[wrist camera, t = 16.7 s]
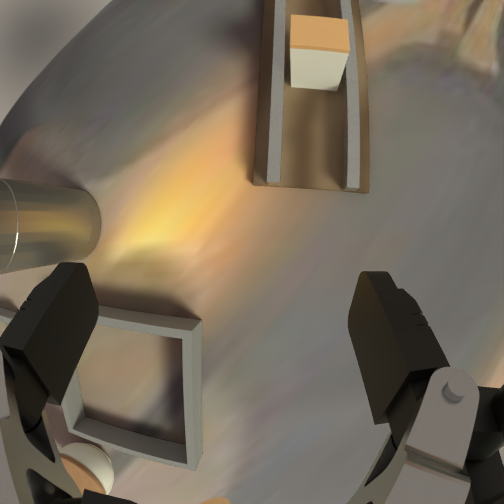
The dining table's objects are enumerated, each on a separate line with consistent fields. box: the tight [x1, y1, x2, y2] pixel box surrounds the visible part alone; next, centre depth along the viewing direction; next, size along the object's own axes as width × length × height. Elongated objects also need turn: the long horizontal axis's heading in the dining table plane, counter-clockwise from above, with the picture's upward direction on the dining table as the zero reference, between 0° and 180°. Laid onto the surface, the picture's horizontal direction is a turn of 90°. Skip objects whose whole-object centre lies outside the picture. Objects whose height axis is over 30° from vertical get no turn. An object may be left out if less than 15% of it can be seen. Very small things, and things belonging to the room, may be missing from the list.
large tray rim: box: [61, 305, 203, 471], centre depth 35 cm, size 20×20×4 cm
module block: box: [290, 15, 350, 91], centre depth 26 cm, size 5×4×9 cm
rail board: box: [253, 0, 370, 194], centre depth 30 cm, size 12×26×4 cm, turn 177°
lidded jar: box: [58, 442, 114, 495], centre depth 35 cm, size 11×11×9 cm
